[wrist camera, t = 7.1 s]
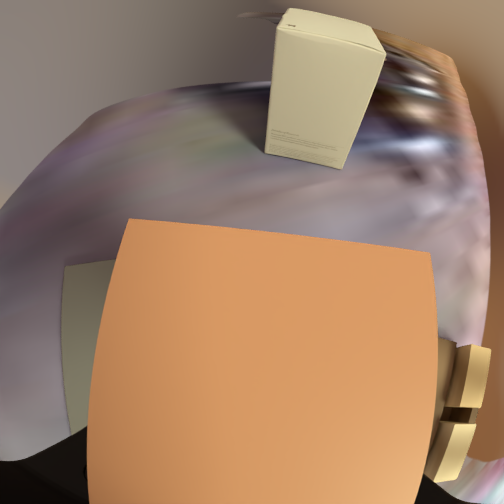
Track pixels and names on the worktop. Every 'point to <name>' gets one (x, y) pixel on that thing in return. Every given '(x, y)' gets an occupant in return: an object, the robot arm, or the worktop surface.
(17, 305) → the worktop surface
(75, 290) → the slate tile
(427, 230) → the worktop surface
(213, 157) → the worktop surface
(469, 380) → the oak offcut
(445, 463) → the ash offcut
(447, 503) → the robot arm
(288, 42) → the supplement box
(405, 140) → the worktop surface
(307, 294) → the orange rectangular block
